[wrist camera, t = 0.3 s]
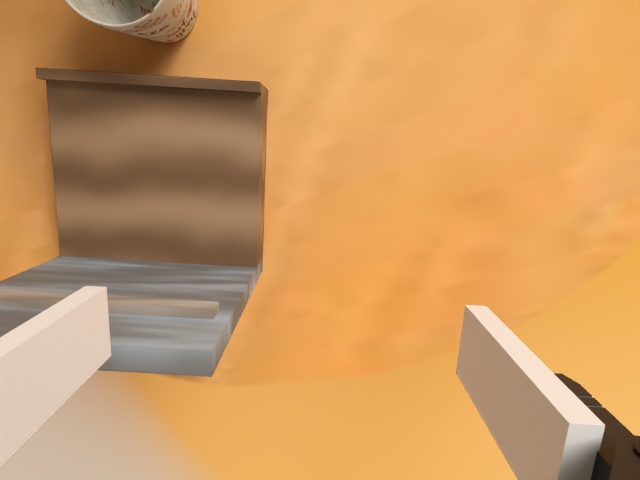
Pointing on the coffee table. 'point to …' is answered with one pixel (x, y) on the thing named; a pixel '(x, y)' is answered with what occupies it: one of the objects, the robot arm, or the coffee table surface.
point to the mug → (141, 17)
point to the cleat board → (153, 212)
